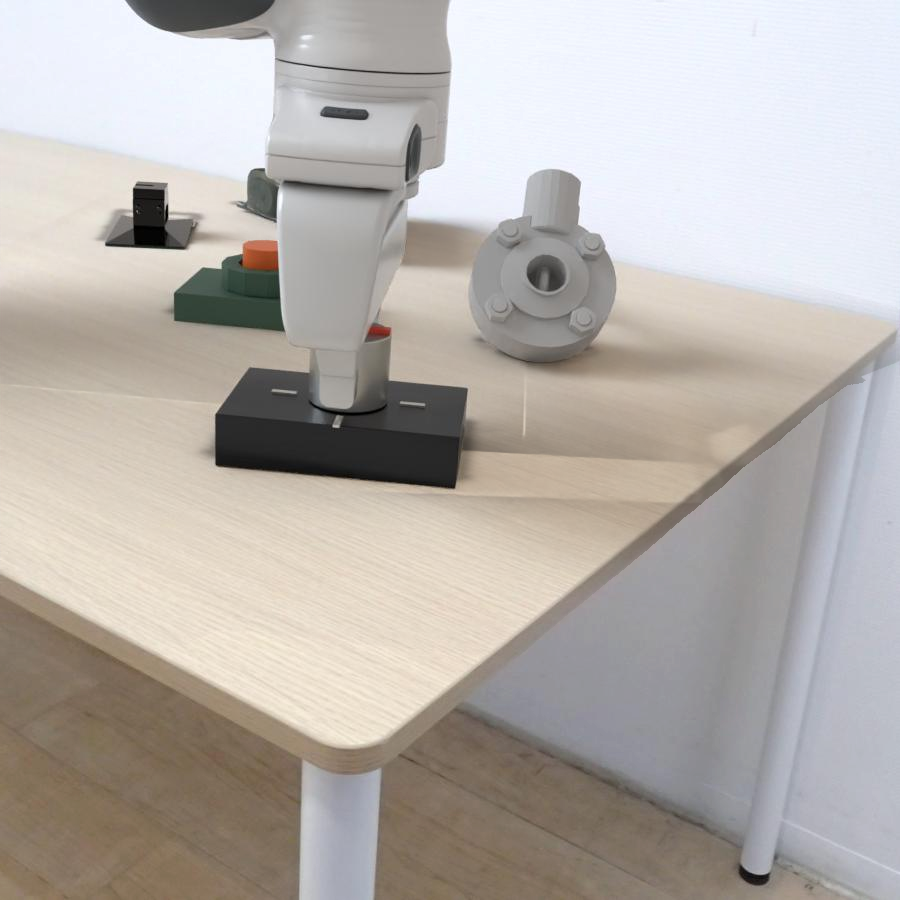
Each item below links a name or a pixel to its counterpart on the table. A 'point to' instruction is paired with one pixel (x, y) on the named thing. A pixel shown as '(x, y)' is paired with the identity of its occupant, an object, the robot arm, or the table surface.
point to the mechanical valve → (543, 276)
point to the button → (261, 255)
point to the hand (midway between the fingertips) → (349, 380)
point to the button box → (231, 297)
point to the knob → (363, 373)
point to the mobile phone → (261, 194)
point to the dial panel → (342, 431)
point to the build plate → (150, 221)
